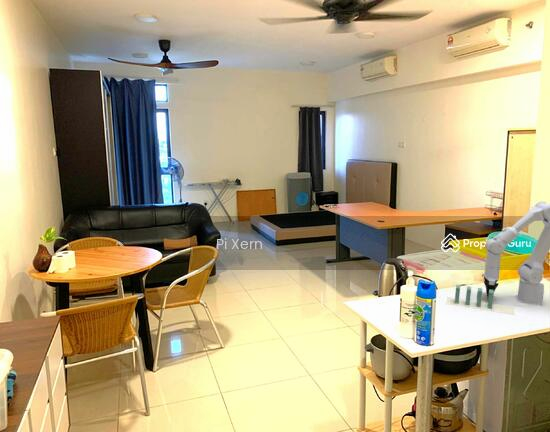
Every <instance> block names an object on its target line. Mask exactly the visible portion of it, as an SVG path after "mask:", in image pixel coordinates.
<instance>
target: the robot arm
mask: <svg viewBox="0 0 550 432" xmlns="http://www.w3.org/2000/svg"><path fill="white" fill-rule="evenodd" d="M537 221H539V222H540V221H542V223H543V225H544V227H543V229H542V232H541V233H540V234H539V236H538V237H539V238H538V239H537V241H536V243H535V246H534V248H533V249H532V252H531V253H530V256H529V258H528V259H526V260H524V262H523V263H522V264H521V265H520V266H519V267H518V269H517V274H518V275H519V281H518V283H519V284H518V289H517V291H518V292H517V295H515V298H516V301H517V302H518V303H522V304H523V303H524V304H531V305H536V306H537V305H538V306H542V307H543V299H544V295H545V294H544V293H545V285H544V283H541V282H542V281H543V277H544V275H543V273H544V271H545V268H544V262H545V260H546V258H547V256H548V254H549V252H550V203H547V202H546V201H539V202H537V203H535V205H533V206H531V207H530V209H529V210H528V211H527V213H525V214H524V215H523V216H522V217H521V218H520V219H519V220H518V221H517V222H516V223H514V224H513V225H512V226H507V227H503V228H502V229H501V231H499V233H498V234H497V235H494V236H493V237H492V238H490V239H488V240H487V241H486V243H485V244H484V247H485V249H486V255H485V256H486V257H485V262H484V263H485V265H484V273H481V274H480V276H481V277H483V284H484V286H485V290H486V291H485V292H486V298H487V297H488V296H489V289H490V290H493V291H494V292H496V289H497V287H498V286H499V282H498V280H499V279H500V268H501V258H502V253H504V251H505V249H506V247H507V246H508V245H509V244H511V243H512V242H513V241H515V239H517V238H518V236H519V233H520V232H521V231H522V230H524V229H526V228H527V227H528V226H529V225H530V224H532V223H534V222H537Z"/></svg>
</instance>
